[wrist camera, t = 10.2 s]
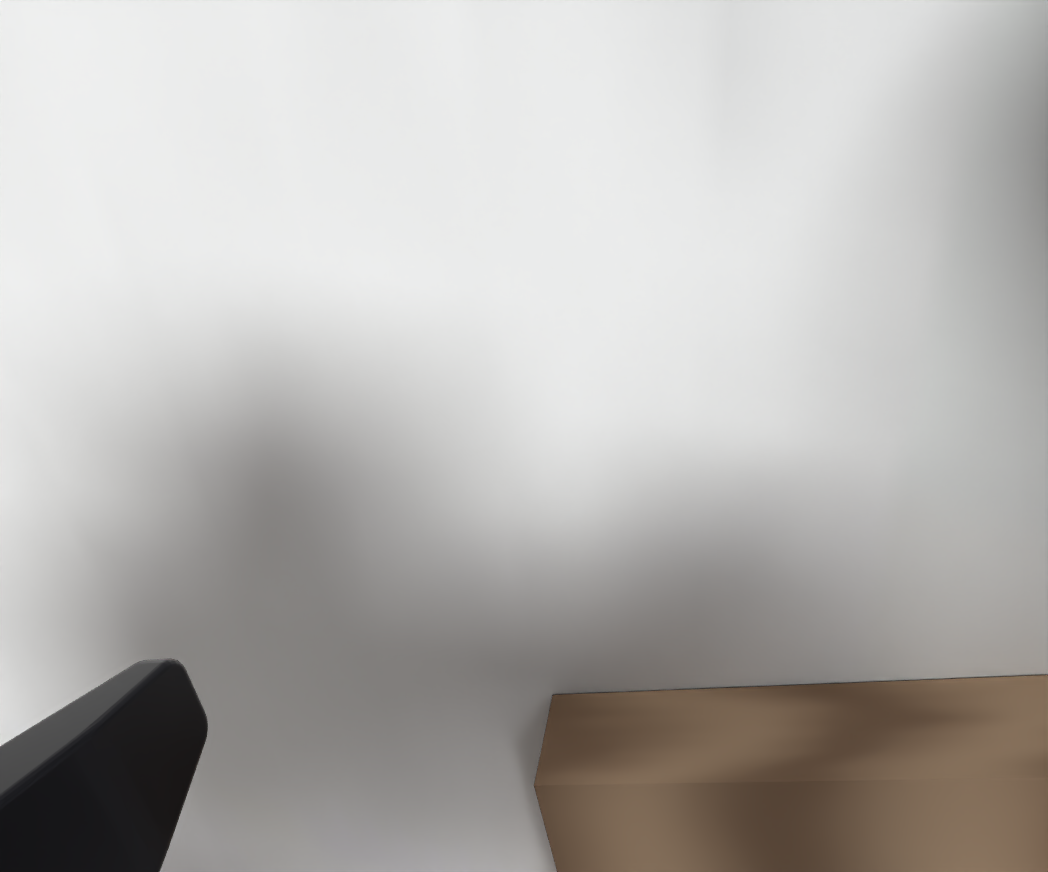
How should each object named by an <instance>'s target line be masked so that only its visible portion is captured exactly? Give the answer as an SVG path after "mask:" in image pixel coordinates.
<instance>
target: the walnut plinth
mask: <svg viewBox="0 0 1048 872" xmlns="http://www.w3.org/2000/svg"><path fill="white" fill-rule="evenodd" d="M534 788H535V791H536V795H537V799H538V802H539V806H540V810H541V814H542V817H543V821H544V825H545V828H546V832H547V836H548V840H549V843H550V847H551V851H552V854H553V858H554V862H555V866H556V869H557V872H1048V675H1036V676H1011V677H986V678H961V679H936V680H911V681H886V682H861V683H837V684H812V685H787V686H762V687H737V688H712V689H687V690H663V691H638V692H613V693H588V694H563V695H553V696H552V700H551V705H550V710H549V715H548V720H547V725H546V730H545V734H544V739H543V744H542V749H541V754H540V759H539V764H538V768H537V773H536V778H535V783H534Z"/></svg>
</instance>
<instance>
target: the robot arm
mask: <svg viewBox="0 0 1048 872" xmlns="http://www.w3.org/2000/svg"><path fill="white" fill-rule="evenodd" d="M207 731H208V723H207V717H206V714H205V711H204V709H203V707H202V704H201V702H200V700H199V698H198V696H197V693H196V691H195V689H194V687H193V684H192V682H191V680H190V678H189V675H188V673H187V671H186V669H185V667H184V666H183V665H182V664H181V663H180V662H179V661H178V660H174V659H155V660H144V661H140V662H138V663H136V664H134V665H132V666H131V667H129V668H127V669H126V670H124V671H123V672H121V673H119V674H118V675H116V676H114V677H113V678H111V679H109V680H108V681H106V682H105V683H103V684H101V685H100V686H98V687H96V688H95V689H93V690H91V691H90V692H88V693H87V694H85V695H83V696H82V697H80V698H78V699H77V700H75V701H73V702H72V703H70V704H69V705H67V706H65V707H64V708H62V709H60V710H59V711H57V712H56V713H54V714H52V715H51V716H49V717H47V718H46V719H44V720H42V721H41V722H39V723H38V724H36V725H34V726H33V727H31V728H29V729H28V730H26V731H24V732H23V733H21V734H20V735H18V736H16V737H15V738H13V739H11V740H10V741H8V742H7V743H5V744H3V745H2V746H0V872H160V869H161V867H162V864H163V861H164V859H165V856H166V853H167V851H168V848H169V845H170V842H171V839H172V836H173V833H174V831H175V828H176V825H177V822H178V819H179V816H180V813H181V810H182V808H183V805H184V802H185V799H186V796H187V793H188V790H189V787H190V784H191V782H192V779H193V776H194V773H195V770H196V767H197V764H198V761H199V759H200V756H201V753H202V750H203V747H204V744H205V741H206V737H207Z"/></svg>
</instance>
